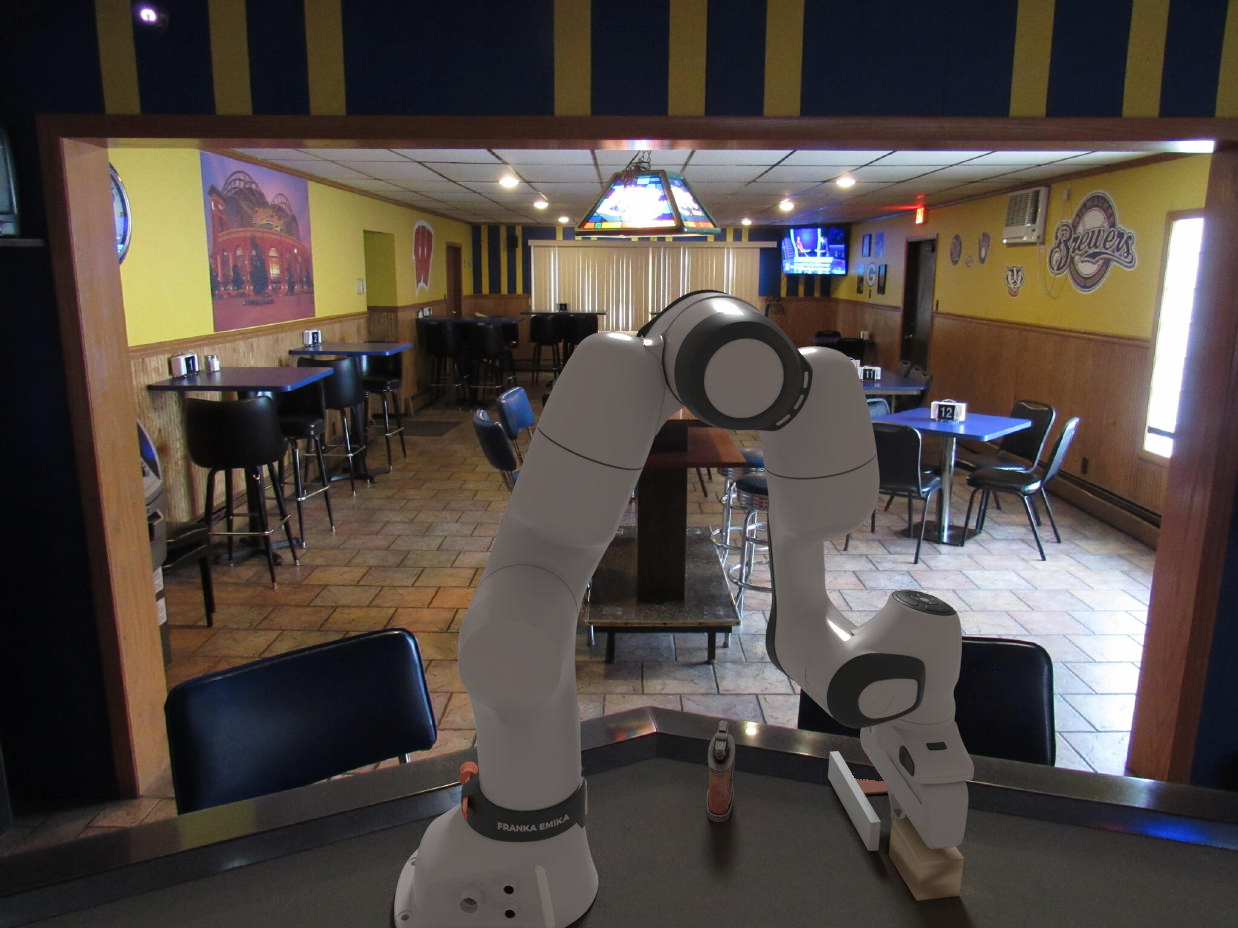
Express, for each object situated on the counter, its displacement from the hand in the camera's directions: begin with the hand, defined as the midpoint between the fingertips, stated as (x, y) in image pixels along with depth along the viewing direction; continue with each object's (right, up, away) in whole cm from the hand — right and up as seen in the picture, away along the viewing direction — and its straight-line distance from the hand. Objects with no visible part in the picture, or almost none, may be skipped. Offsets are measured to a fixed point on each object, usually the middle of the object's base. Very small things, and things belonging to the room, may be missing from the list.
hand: (901, 825), depth 101 cm
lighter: (-21, 0, +8) cm, 22 cm away
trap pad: (-1, +1, +11) cm, 11 cm away
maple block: (+1, -4, -5) cm, 6 cm away
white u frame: (-1, -1, +6) cm, 6 cm away
